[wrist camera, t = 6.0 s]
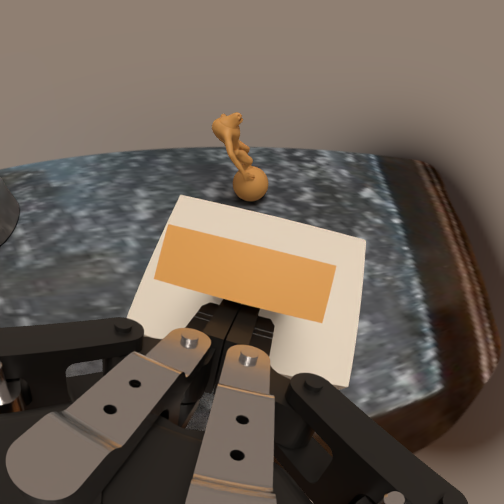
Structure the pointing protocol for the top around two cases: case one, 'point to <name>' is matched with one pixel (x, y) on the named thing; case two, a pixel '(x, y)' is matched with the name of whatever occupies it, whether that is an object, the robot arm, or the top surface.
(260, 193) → the figurine
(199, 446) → the robot arm
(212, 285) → the handle
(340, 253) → the breaker housing
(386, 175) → the top surface
